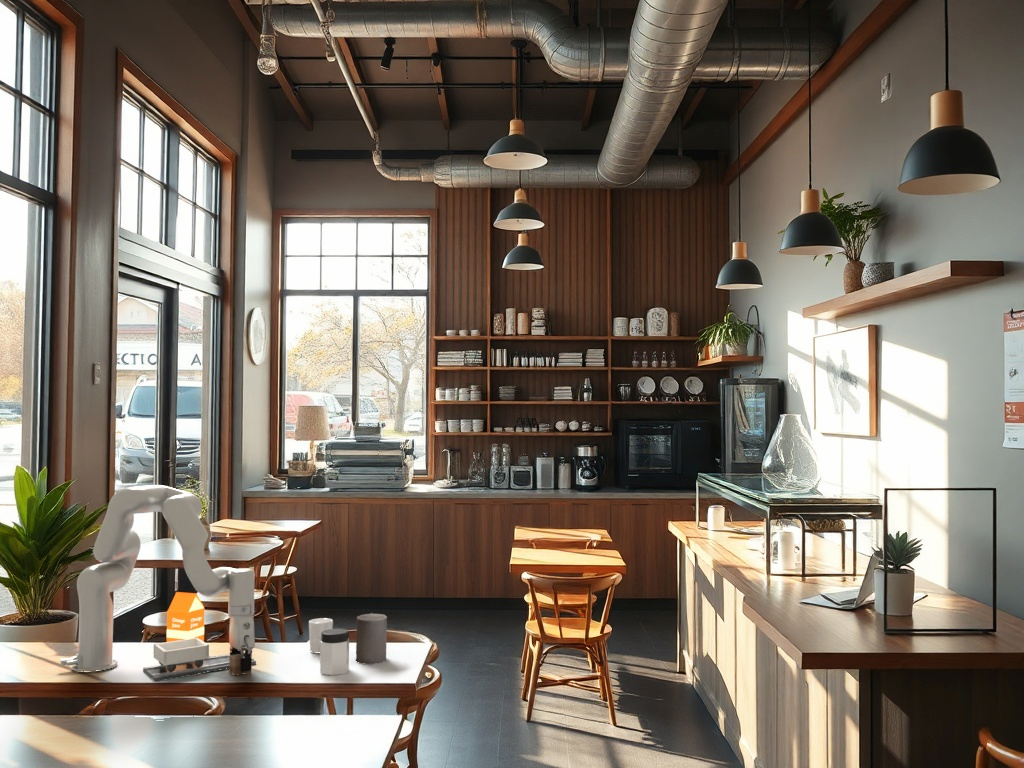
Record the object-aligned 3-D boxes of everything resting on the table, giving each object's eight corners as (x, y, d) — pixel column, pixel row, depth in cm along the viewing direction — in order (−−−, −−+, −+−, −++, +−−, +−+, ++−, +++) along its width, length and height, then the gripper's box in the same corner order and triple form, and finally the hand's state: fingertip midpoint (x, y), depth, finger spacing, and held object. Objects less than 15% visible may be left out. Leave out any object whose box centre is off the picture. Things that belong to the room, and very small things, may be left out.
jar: (345, 675, 247) (346, 634, 248) (318, 676, 247) (318, 635, 247) (350, 667, 256) (350, 628, 257) (324, 667, 255) (324, 628, 256)
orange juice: (187, 658, 268) (188, 595, 269) (165, 656, 271) (167, 594, 272) (204, 652, 275) (205, 591, 276) (183, 650, 278) (184, 590, 280)
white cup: (319, 655, 271) (319, 624, 271) (303, 651, 275) (303, 621, 276) (337, 650, 277) (337, 620, 278) (322, 647, 282) (322, 617, 282)
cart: (163, 673, 244) (164, 651, 245) (153, 665, 254) (153, 644, 254) (208, 666, 252) (209, 645, 253) (196, 658, 262) (197, 637, 262)
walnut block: (234, 676, 247) (234, 659, 248) (229, 672, 251) (229, 655, 252) (251, 673, 250) (251, 656, 251) (245, 669, 254) (245, 653, 255)
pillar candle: (349, 661, 263) (350, 613, 264) (370, 654, 271) (371, 608, 272) (372, 666, 257) (372, 617, 258) (393, 659, 266) (393, 611, 266)
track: (154, 681, 242) (154, 676, 242) (143, 671, 253) (143, 666, 253) (255, 664, 260) (255, 659, 260) (240, 655, 271) (240, 651, 271)
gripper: (263, 613, 248) (262, 671, 246) (243, 604, 261) (242, 659, 260) (238, 616, 243) (237, 676, 242) (219, 607, 257) (218, 663, 256)
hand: (240, 667), depth 251 cm, fingers open, 9 cm apart
